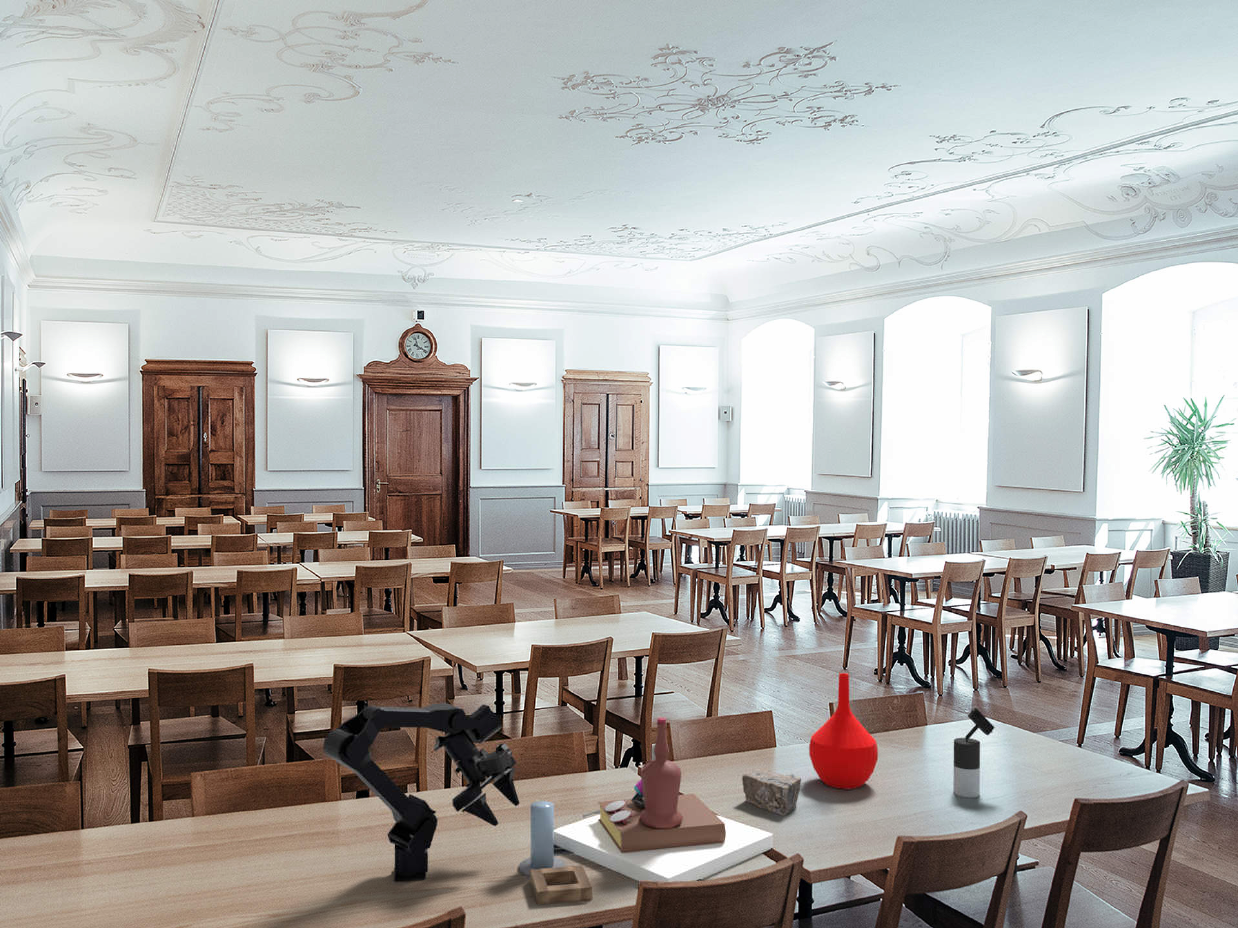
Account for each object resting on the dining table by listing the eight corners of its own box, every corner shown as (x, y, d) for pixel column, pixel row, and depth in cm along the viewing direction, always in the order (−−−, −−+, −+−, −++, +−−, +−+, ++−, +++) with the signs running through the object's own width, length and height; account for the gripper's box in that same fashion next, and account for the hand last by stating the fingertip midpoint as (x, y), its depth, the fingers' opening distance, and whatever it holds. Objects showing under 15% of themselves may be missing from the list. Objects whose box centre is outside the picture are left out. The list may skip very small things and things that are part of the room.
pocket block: (537, 904, 201) (537, 891, 201) (530, 881, 212) (530, 869, 212) (592, 899, 203) (592, 886, 203) (582, 877, 214) (582, 865, 214)
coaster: (522, 878, 213) (522, 876, 213) (516, 860, 223) (516, 857, 223) (569, 875, 215) (569, 872, 215) (561, 856, 225) (561, 854, 225)
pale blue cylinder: (532, 870, 216) (532, 809, 216) (529, 861, 221) (529, 801, 221) (555, 868, 217) (555, 807, 217) (551, 859, 222) (552, 800, 222)
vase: (825, 768, 290) (826, 664, 289) (888, 781, 279) (888, 672, 279) (797, 785, 275) (798, 675, 275) (861, 799, 264) (862, 684, 264)
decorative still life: (646, 805, 260) (647, 684, 259) (773, 849, 231) (774, 714, 231) (541, 841, 235) (542, 708, 235) (668, 895, 207) (669, 744, 206)
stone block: (806, 808, 258) (806, 778, 258) (785, 816, 251) (786, 786, 251) (760, 794, 267) (761, 765, 267) (739, 803, 261) (740, 773, 261)
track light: (972, 809, 266) (1022, 753, 268) (930, 766, 264) (981, 709, 266) (960, 801, 273) (1009, 746, 275) (918, 758, 270) (968, 703, 273)
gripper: (466, 755, 211) (510, 818, 209) (511, 720, 228) (552, 778, 226) (433, 780, 216) (475, 842, 214) (479, 744, 233) (519, 801, 231)
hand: (507, 814), depth 221 cm, fingers open, 9 cm apart
